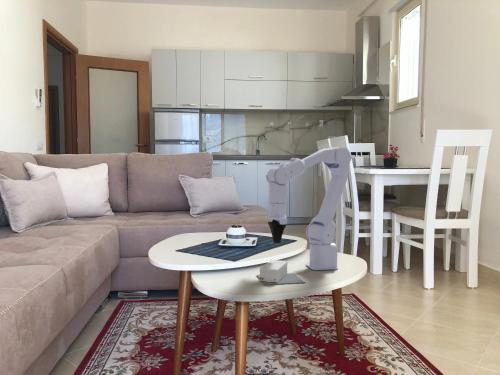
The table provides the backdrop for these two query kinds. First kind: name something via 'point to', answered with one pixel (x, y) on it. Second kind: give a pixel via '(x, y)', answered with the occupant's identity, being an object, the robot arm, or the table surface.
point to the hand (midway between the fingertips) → (276, 242)
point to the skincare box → (273, 271)
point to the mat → (285, 280)
